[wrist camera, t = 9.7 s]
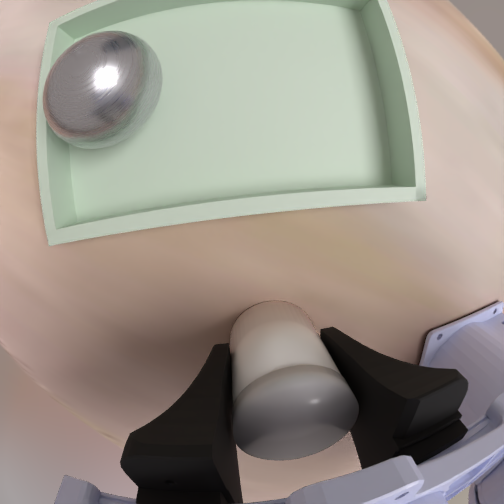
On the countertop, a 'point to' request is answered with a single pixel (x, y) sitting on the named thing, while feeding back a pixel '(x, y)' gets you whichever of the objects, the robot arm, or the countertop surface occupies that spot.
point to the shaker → (285, 385)
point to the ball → (102, 89)
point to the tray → (240, 116)
